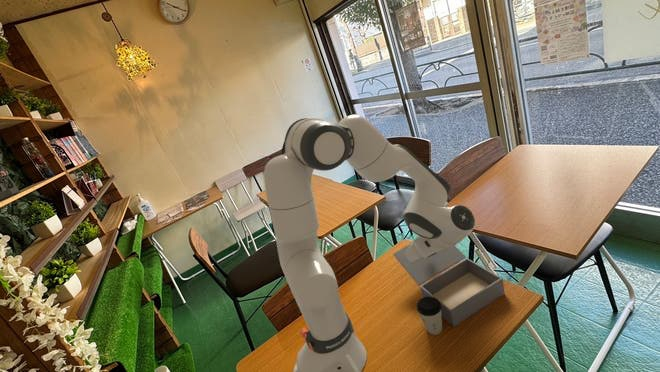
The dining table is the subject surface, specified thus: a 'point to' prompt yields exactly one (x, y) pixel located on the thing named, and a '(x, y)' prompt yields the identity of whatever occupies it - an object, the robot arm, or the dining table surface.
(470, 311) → the mailer box
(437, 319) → the coffee cup
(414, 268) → the mailer lid
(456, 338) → the dining table surface
